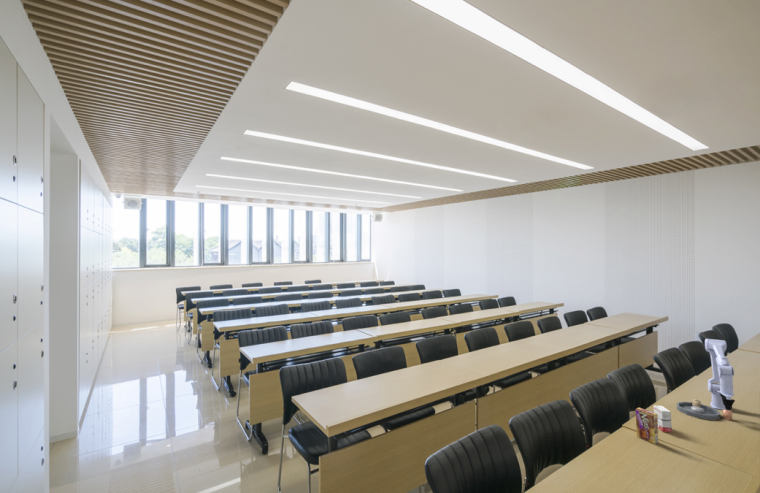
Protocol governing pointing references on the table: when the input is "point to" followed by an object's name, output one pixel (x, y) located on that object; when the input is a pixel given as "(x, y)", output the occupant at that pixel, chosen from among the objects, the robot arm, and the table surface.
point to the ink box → (663, 418)
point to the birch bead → (696, 403)
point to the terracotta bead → (727, 414)
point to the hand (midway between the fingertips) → (727, 407)
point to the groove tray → (698, 411)
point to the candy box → (647, 425)
